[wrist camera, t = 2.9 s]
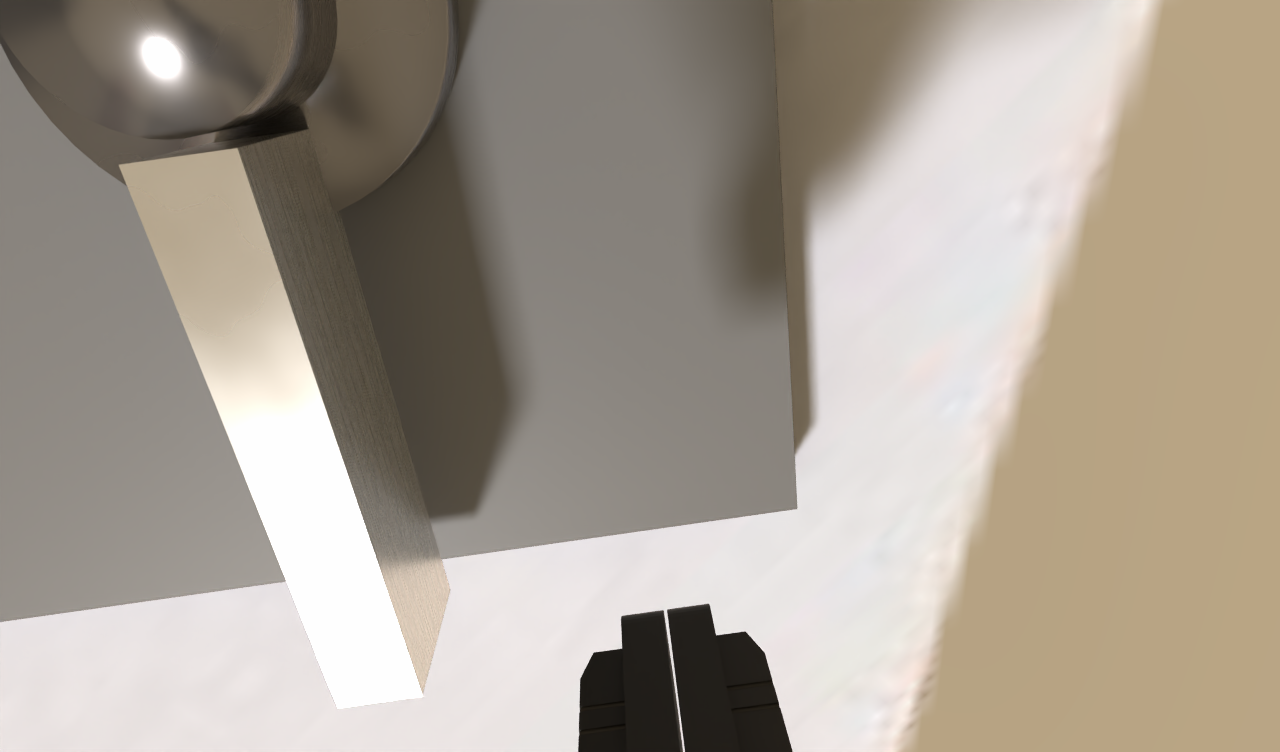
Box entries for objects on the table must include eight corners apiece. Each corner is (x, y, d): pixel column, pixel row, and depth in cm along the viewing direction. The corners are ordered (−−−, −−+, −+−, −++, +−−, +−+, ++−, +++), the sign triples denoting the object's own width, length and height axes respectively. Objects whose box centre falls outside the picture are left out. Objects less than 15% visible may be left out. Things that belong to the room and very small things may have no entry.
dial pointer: (-57, -217, 11) (-362, -345, 8) (401, -281, 11) (312, -437, 8) (276, 590, 17) (195, 728, 14) (570, 548, 17) (564, 675, 14)
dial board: (-1182, -868, 9) (-1537, -1052, 8) (690, -1125, 9) (708, -1359, 8) (-138, 606, 19) (-203, 655, 18) (782, 476, 19) (799, 513, 18)
